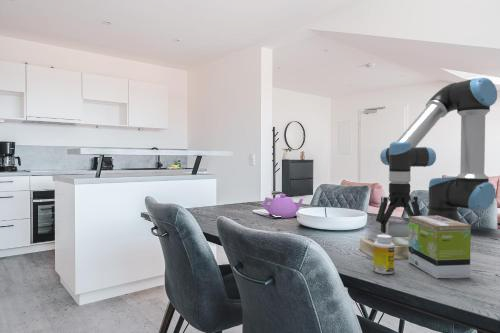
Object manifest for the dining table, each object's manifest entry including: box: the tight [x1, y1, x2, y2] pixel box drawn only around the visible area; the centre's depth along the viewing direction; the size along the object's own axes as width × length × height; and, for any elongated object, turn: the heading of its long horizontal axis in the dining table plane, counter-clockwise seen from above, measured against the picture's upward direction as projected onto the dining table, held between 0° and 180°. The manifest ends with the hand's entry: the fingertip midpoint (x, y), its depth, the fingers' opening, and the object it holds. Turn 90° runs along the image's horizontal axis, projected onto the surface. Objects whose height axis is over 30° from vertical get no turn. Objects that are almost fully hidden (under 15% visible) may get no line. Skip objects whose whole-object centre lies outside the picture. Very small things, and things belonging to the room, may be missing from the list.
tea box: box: [408, 215, 472, 279], centre depth 104 cm, size 15×10×15 cm, turn 5°
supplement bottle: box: [372, 233, 395, 275], centre depth 103 cm, size 6×6×10 cm
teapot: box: [262, 193, 304, 219], centre depth 198 cm, size 22×16×12 cm
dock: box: [359, 237, 409, 260], centre depth 122 cm, size 18×12×4 cm, turn 99°
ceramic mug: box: [388, 220, 409, 237], centre depth 139 cm, size 11×8×8 cm
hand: (398, 240), depth 138 cm, fingers closed on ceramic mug, 10 cm apart
